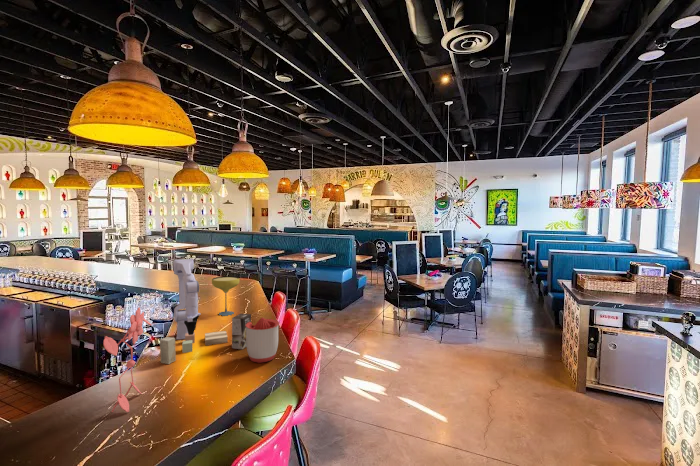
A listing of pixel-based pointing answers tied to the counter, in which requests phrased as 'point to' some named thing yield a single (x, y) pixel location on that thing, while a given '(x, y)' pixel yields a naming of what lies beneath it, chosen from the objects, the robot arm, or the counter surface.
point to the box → (167, 350)
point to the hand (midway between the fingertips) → (192, 332)
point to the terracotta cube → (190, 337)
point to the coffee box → (239, 330)
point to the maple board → (216, 338)
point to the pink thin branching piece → (113, 349)
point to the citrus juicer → (262, 340)
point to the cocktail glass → (225, 288)
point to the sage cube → (187, 346)
